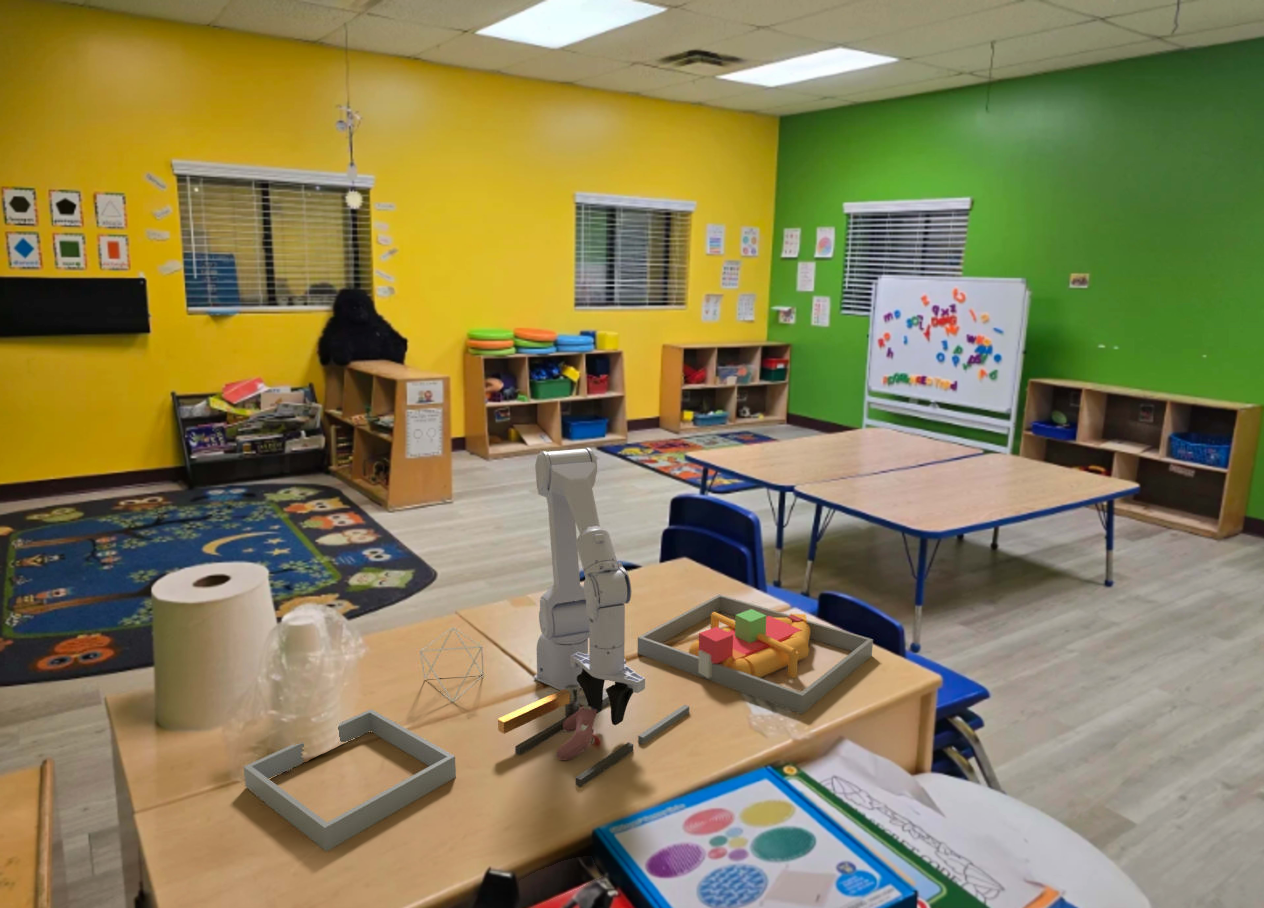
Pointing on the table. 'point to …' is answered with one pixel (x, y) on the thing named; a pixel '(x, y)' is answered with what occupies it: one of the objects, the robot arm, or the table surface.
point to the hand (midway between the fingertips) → (606, 717)
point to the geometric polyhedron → (451, 649)
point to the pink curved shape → (578, 732)
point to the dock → (614, 756)
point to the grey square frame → (369, 810)
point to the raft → (753, 643)
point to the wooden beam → (542, 708)
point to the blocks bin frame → (745, 682)
